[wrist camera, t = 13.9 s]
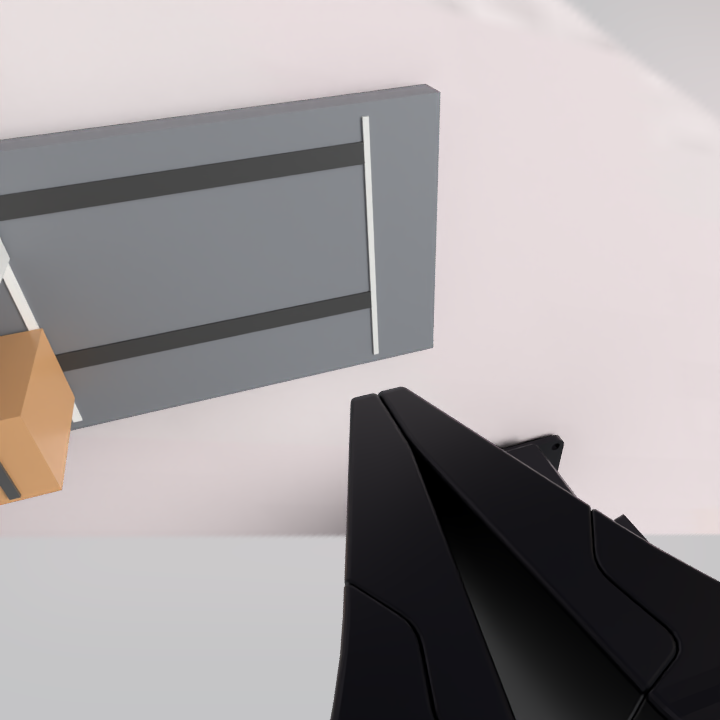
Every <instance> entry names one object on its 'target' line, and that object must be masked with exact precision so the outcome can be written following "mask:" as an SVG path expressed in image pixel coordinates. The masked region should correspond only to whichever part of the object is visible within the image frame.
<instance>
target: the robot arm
mask: <svg viewBox="0 0 720 720" xmlns="http://www.w3.org/2000/svg"><path fill="white" fill-rule="evenodd" d="M563 446H564V442H563V441H562V439H561V438H560V437H559V436H558V435H553V436H549V437H545V438H542V439H538V440H534V441H531V442H527V443H523V444H520V445H516V446H512V447H509V448H505V449H501V448H499V447H498V446H496V445H494V444H493V443H491V442H490V441H488V440H487V439H485V438H484V437H482V436H480V435H479V434H477V433H476V432H474V431H473V430H471V429H469V428H468V427H466V426H465V425H463V424H462V423H460V422H459V421H457V420H455V419H454V418H452V417H451V416H449V415H448V414H446V413H445V412H443V411H441V410H440V409H438V408H437V407H435V406H434V405H432V404H430V403H429V402H427V401H426V400H424V399H423V398H421V397H420V396H418V395H416V394H415V393H413V392H412V391H410V390H409V389H407V388H405V387H397V388H393V389H389V390H385V391H381V392H380V393H379V394H378V395H377V394H374V393H372V394H368V395H364V396H360V397H355V398H353V399H352V400H351V408H350V437H349V466H348V495H347V524H346V554H345V587H344V602H343V604H344V605H343V623H342V636H341V650H340V660H339V667H338V674H337V681H336V688H335V695H334V702H333V708H332V713H331V719H330V720H720V582H719V581H717V580H716V579H714V578H712V577H710V576H708V575H706V574H704V573H702V572H701V571H699V570H697V569H695V568H693V567H691V566H689V565H688V564H686V563H684V562H682V561H681V560H679V559H677V558H675V557H673V556H672V555H670V554H668V553H666V552H664V551H663V550H661V549H659V548H657V547H656V546H654V545H652V544H650V543H649V542H648V541H647V540H646V538H645V537H644V536H643V535H642V534H641V533H640V532H639V531H638V530H637V528H636V527H635V526H634V525H633V524H632V523H631V522H630V521H629V520H628V518H627V517H626V516H625V515H624V514H623V515H621V516H620V517H618V518H616V519H615V520H614V521H613V520H612V519H610V518H609V517H607V516H606V515H604V514H602V513H601V512H599V511H598V510H596V509H593V510H592V511H591V507H590V506H589V505H588V504H586V503H585V502H583V501H582V500H580V499H579V498H577V497H576V495H575V494H574V493H573V491H572V490H571V489H570V487H569V486H568V485H567V483H566V482H565V481H564V479H563V478H562V477H561V476H560V474H559V473H558V467H559V463H560V459H561V454H562V450H563Z"/></svg>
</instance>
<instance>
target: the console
mask: <svg viewBox="0 0 720 720" xmlns="http://www.w3.org/2000/svg"><path fill="white" fill-rule="evenodd" d="M439 120H440V92H439V91H437V90H436V89H434V88H432V87H430V86H428V85H427V84H423V85H416V86H408V87H400V88H393V89H385V90H378V91H370V92H362V93H355V94H347V95H340V96H332V97H325V98H317V99H309V100H302V101H294V102H287V103H279V104H271V105H264V106H256V107H249V108H241V109H233V110H226V111H218V112H211V113H203V114H195V115H188V116H180V117H173V118H165V119H157V120H150V121H142V122H135V123H127V124H119V125H112V126H104V127H97V128H89V129H81V130H74V131H66V132H59V133H51V134H43V135H36V136H28V137H21V138H13V139H5V140H0V238H1V241H2V243H3V245H4V247H5V249H6V251H7V253H8V255H9V258H10V260H9V263H8V265H7V268H6V270H5V273H4V276H3V278H2V281H1V283H0V336H4V335H9V334H15V333H20V332H25V331H30V330H35V329H40V328H42V329H43V331H44V333H45V335H46V337H47V339H48V341H49V344H50V346H51V348H52V350H53V352H54V354H55V356H56V358H57V361H58V363H59V365H60V367H61V369H62V371H63V373H64V375H65V378H66V380H67V382H68V384H69V386H70V388H71V390H72V392H73V395H74V397H75V401H74V408H73V415H72V422H71V429H70V431H71V430H75V429H80V428H84V427H88V426H93V425H97V424H102V423H106V422H110V421H115V420H119V419H123V418H128V417H132V416H137V415H141V414H145V413H150V412H154V411H158V410H163V409H167V408H172V407H176V406H180V405H185V404H189V403H193V402H198V401H202V400H207V399H211V398H215V397H220V396H224V395H228V394H233V393H237V392H242V391H246V390H250V389H255V388H259V387H264V386H268V385H272V384H277V383H281V382H285V381H290V380H294V379H299V378H303V377H307V376H312V375H316V374H320V373H325V372H329V371H334V370H338V369H342V368H347V367H351V366H355V365H360V364H364V363H369V362H373V361H377V360H382V359H386V358H391V357H395V356H399V355H404V354H408V353H412V352H417V351H421V350H426V349H430V348H433V325H434V290H435V256H436V222H437V188H438V154H439Z"/></svg>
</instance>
